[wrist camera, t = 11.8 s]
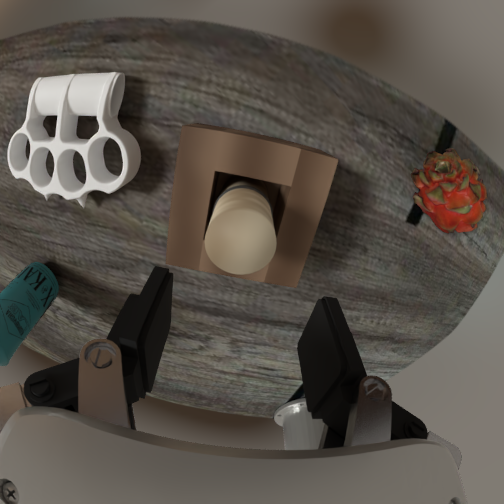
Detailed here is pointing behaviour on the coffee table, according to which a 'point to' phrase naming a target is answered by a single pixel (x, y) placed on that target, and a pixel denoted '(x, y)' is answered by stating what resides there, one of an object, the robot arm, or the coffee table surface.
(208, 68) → the coffee table surface
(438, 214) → the dragon fruit
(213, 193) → the socket block
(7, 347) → the beverage bottle
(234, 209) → the peg
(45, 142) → the knuckle duster
